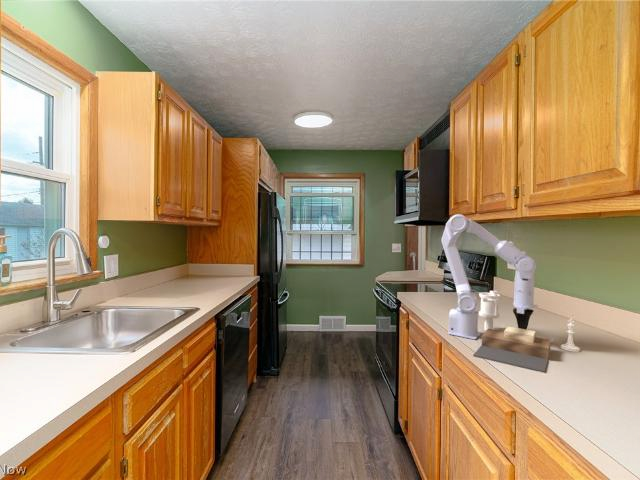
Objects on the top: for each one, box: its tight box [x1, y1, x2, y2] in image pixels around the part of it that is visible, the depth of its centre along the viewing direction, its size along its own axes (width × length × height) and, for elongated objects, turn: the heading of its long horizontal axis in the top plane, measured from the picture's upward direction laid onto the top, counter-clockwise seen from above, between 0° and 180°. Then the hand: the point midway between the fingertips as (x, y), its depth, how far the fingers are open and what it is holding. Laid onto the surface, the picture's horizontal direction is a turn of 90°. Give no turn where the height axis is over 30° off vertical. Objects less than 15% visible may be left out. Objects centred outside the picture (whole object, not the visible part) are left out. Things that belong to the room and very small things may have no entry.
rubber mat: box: [472, 344, 549, 374], centre depth 98 cm, size 18×10×1 cm, turn 52°
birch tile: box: [503, 325, 536, 343], centre depth 106 cm, size 8×6×2 cm
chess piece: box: [560, 318, 580, 353], centre depth 106 cm, size 5×5×10 cm
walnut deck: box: [481, 328, 551, 360], centre depth 106 cm, size 18×10×4 cm, turn 52°
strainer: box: [478, 290, 501, 332], centre depth 125 cm, size 7×7×15 cm
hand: (522, 330), depth 112 cm, fingers closed
